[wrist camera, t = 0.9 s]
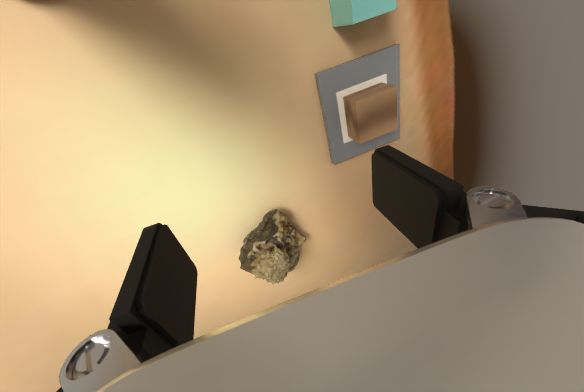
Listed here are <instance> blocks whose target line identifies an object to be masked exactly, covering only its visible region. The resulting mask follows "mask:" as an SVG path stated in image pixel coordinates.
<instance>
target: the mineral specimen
mask: <svg viewBox="0 0 584 392" xmlns="http://www.w3.org/2000/svg"><path fill="white" fill-rule="evenodd" d="M287 220H288V217H285V216H284V215H283V213H282V214H281V213H280V212H279V211H278V210H277V209H275V210H274V211H269V212H268V213H267V214H266V215H265V216H264V218H263V221H262V222H261V223H260V224H259V226H258V227H257V228H256V229H255V230H253V231H251V232H250V234H248V235H247V237H246V238H245V239H244V241H243V242H244V245H243V246H242V248H241V254H240V256H239V260H240V262H241V267H240V268H241V269H243V270H245V271H247V272H250V273H251V274H254V275H255V279H256V278H262V279H263V280H264V279H266V281H267V282H272V284H274V283H279V282H281V281H284V278H285V277H286V276H287V272H291V271H292V270H294V267H295V266H296V265H297V263H298V260H299V252H298V251H299V249H298V246H300V245H301V244H303V243H304V242H305V240H306V237H304V236H302V235H300V234H299V233H298V232H297V231H296V230H295V228H294V227H292V226H290V225H289V224H288V223H287Z"/></svg>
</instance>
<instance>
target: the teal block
mask: <svg viewBox="0 0 584 392" xmlns="http://www.w3.org/2000/svg"><path fill="white" fill-rule="evenodd" d="M329 2H330V10H331V17H332V24H333V27H338V26H345V25H352V24H356V23H359V22H362V21H364V20H367V19H370V18H373V17H376V16H378V15H381V14H384V13H387V12H390V11H393V10H395V9H397V5H396V0H329Z"/></svg>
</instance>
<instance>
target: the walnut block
mask: <svg viewBox="0 0 584 392" xmlns="http://www.w3.org/2000/svg"><path fill="white" fill-rule="evenodd" d="M343 101H344V109H345V116H346V123H347V131H348V137H350V138H351V139H353V140H354V141H356V142H357V143H359V144H361V143H364V142H366V141H369V140H371V139H374V138H376V137H379V136H381V135H384V134H386V133H389V132H391V131H394V130H396V129H397V86H396V85H391V84H386V83H382V82H381V83H378V84H376V85H373V86H370V87H368V88H365V89H363V90H360V91H357V92H355V93H352V94H350V95H347V96H344V97H343Z"/></svg>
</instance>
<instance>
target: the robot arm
mask: <svg viewBox="0 0 584 392" xmlns="http://www.w3.org/2000/svg"><path fill="white" fill-rule="evenodd" d="M463 187H464V186H463V185H461V184H459V183H457V182H456V181H454V180H452V179H450V178H448V177H446V176H445V175H443V174H441V173H439V172H437V171H435V170H434V169H432V168H430V167H428V166H426V165H424V164H423V163H421V162H419V161H417V160H415V159H413V158H411V157H410V156H408V155H406V154H404V153H402V152H400V151H399V150H397V149H395V148H393V147H391V146H389V145H387V146H384V147H381V148H378V149H376V150H375V152H374V153H373V154H372V191H373V204H374V206H375V207H376V208H377V209H378V210H379V211H380V212H381V213H382V214H383V215H384V216H385V217H386V218H387V219H388V220H389V221H390V222H391V223H392V224H393V225H394V226H395V227H396V228H397V229H398V230H399V231H401V232H402V233H403V234H404V235H405V236H406V237H407V238H408V239H409V240H410V241H411V242H412V243H413V244H414V245H415V246H416V247H417V248H418V249H416V250H414V251H411V252H409V253H406V254H404V255H401V256H399V257H396V258H393V259H391V260H388V261H386V262H383V263H381V264H378V265H376V266H373V267H371V268H368V269H366V270H363V271H361V272H358V273H356V274H353V275H351V276H348V277H346V278H343V279H341V280H338V281H336V282H333V283H331V284H328V285H326V286H323V287H321V288H318V289H316V290H313V291H311V292H308V293H306V294H303V295H301V296H298V297H296V298H293V299H291V300H288V301H286V302H283V303H281V304H278V305H276V306H274V307H271V308H269V309H266V310H264V311H261V312H259V313H256V314H254V315H251V316H249V317H247V318H244V319H242V320H239V321H237V322H234V323H232V324H229V325H227V326H224V327H222V328H220V329H217V330H215V331H212V332H210V333H208V334H205V335H203V336H201V337H198V338H196V339H194V340H193V335H194V320H195V304H196V288H197V269H196V266H195V265H194V263H193V262H192V260H191V259H190V257H189V256H188V255H187V253H186V252H185V250H184V249H183V247H182V246H181V244H180V243H179V242H178V240H177V239H176V237H175V236H174V234H173V233H172V231H171V230H170V229H169V227H168V226H167V225H162V224H161V223H157V224H154V225H151V226H149V227H146V228H144V229H143V231H142V234H141V237H140V239H139V242H138V244H137V247H136V250H135V252H134V255H133V258H132V260H131V263H130V266H129V268H128V271H127V273H126V276H125V279H124V281H123V284H122V287H121V289H120V292H119V295H118V297H117V300H116V302H115V305H114V308H113V310H112V313H111V316H110V318H109V320H110V323H109V326H108V328H107V329H104V330H101V331H97V332H96V333H94V334H92V335H90V336H89V337H87V338H86V339H85V340H83V341H82V342H81V343H80V344H79V345H78V346H77V347H76V348H75V349H74V350H73V351H72V352H71V353H70V355H69V356H68V357H67V359H66V360H65V362H64V364H63V366H62V368H61V371H60V374H59V382H60V385H61V388H60V389H59V390H58V391H57V392H584V211H583V212H582V211H574V210H565V209H556V208H546V207H537V206H528V205H522V203H521V201H520V200H519V198H518V197H517V196H516V195H515V194H513V193H512V192H509V191H507V190H504V189H501V188H496V187H477V188H474V189H472V190H470V191H469V192H468V193H465V192H464V191H463Z"/></svg>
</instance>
